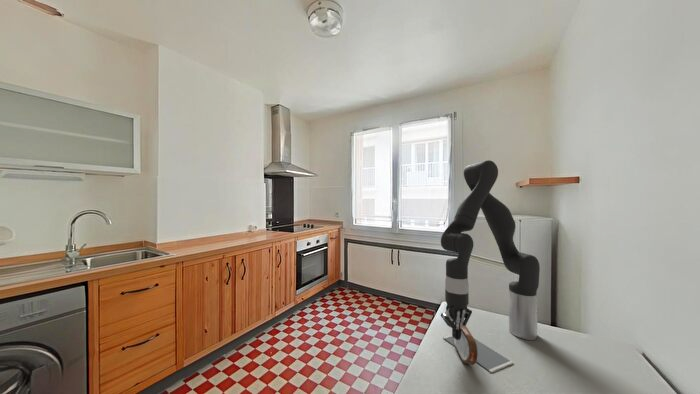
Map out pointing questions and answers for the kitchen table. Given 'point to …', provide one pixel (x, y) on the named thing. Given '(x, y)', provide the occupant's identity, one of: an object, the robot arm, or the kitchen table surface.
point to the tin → (466, 346)
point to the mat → (486, 356)
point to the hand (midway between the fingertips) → (456, 338)
